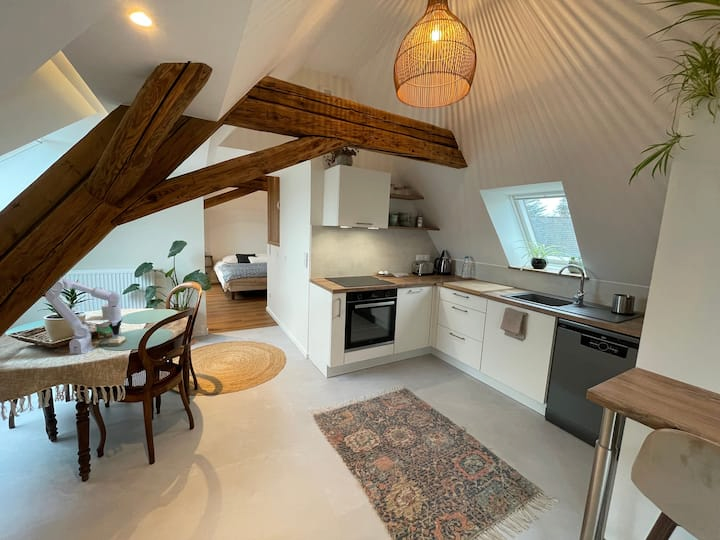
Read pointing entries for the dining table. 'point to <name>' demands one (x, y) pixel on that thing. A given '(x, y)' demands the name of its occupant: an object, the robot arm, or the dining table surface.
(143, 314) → the dining table surface
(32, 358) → the dining table surface
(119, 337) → the top block
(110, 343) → the base slab
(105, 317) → the light bulb box
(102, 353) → the dining table surface
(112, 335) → the cylinder
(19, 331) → the dining table surface
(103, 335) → the food container
